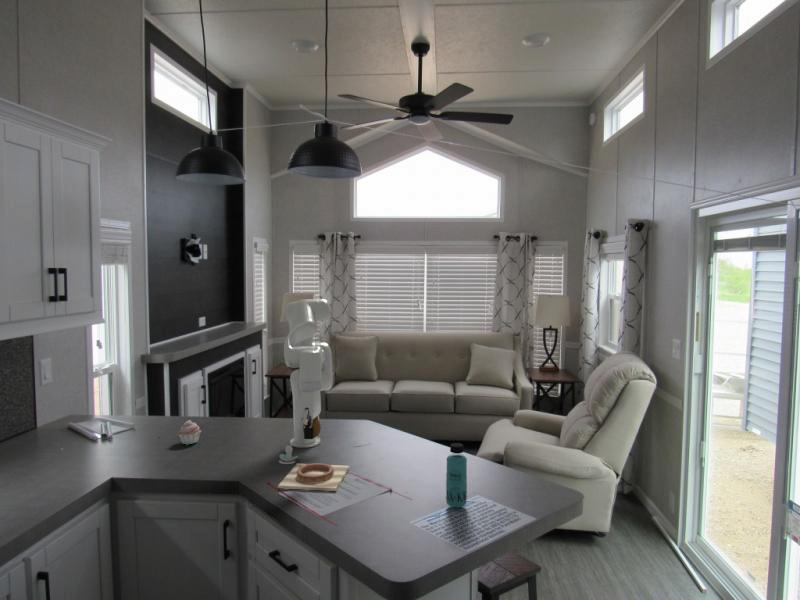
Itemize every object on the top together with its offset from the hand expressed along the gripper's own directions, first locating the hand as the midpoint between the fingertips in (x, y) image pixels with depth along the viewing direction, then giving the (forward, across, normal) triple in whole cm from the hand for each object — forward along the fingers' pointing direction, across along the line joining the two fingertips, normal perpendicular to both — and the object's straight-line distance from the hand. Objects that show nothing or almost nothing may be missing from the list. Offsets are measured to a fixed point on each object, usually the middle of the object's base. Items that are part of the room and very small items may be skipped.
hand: (311, 435), depth 189 cm
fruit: (+1, 0, 0) cm, 1 cm away
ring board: (+16, 0, +1) cm, 16 cm away
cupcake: (+16, -30, -64) cm, 72 cm away
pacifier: (+16, -14, -14) cm, 26 cm away
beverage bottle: (+16, +16, +51) cm, 56 cm away
